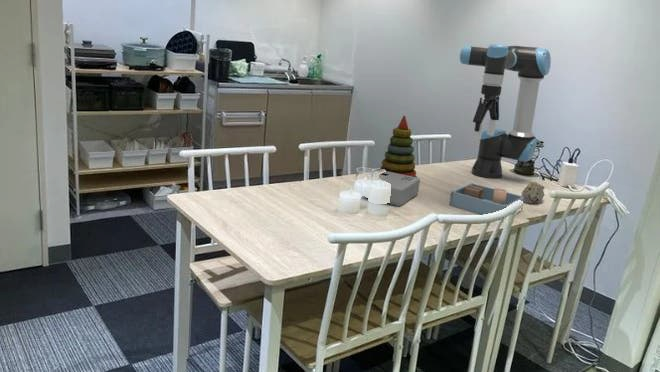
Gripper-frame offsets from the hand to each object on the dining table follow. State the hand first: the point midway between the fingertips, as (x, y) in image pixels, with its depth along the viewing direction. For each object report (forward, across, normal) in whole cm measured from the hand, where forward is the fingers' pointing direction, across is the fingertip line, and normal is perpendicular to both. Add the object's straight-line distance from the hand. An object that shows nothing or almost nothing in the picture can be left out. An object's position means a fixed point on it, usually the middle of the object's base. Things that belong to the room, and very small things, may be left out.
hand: (483, 137), depth 221 cm
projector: (+29, +20, -28) cm, 45 cm away
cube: (+28, 0, 0) cm, 28 cm away
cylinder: (+28, 0, +11) cm, 30 cm away
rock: (+29, -26, +17) cm, 43 cm away
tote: (+29, 0, +6) cm, 29 cm away
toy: (+29, -7, -42) cm, 52 cm away
